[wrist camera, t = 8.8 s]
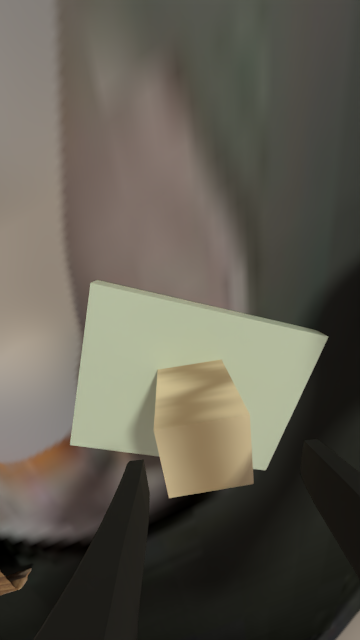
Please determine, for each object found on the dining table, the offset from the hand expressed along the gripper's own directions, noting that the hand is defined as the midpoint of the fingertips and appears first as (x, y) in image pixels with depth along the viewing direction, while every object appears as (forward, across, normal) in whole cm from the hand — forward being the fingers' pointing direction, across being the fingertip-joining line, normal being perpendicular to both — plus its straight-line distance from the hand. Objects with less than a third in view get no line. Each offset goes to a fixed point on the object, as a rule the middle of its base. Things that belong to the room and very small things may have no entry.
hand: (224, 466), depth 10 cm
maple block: (+8, +1, +2) cm, 8 cm away
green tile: (+9, +1, +2) cm, 9 cm away
